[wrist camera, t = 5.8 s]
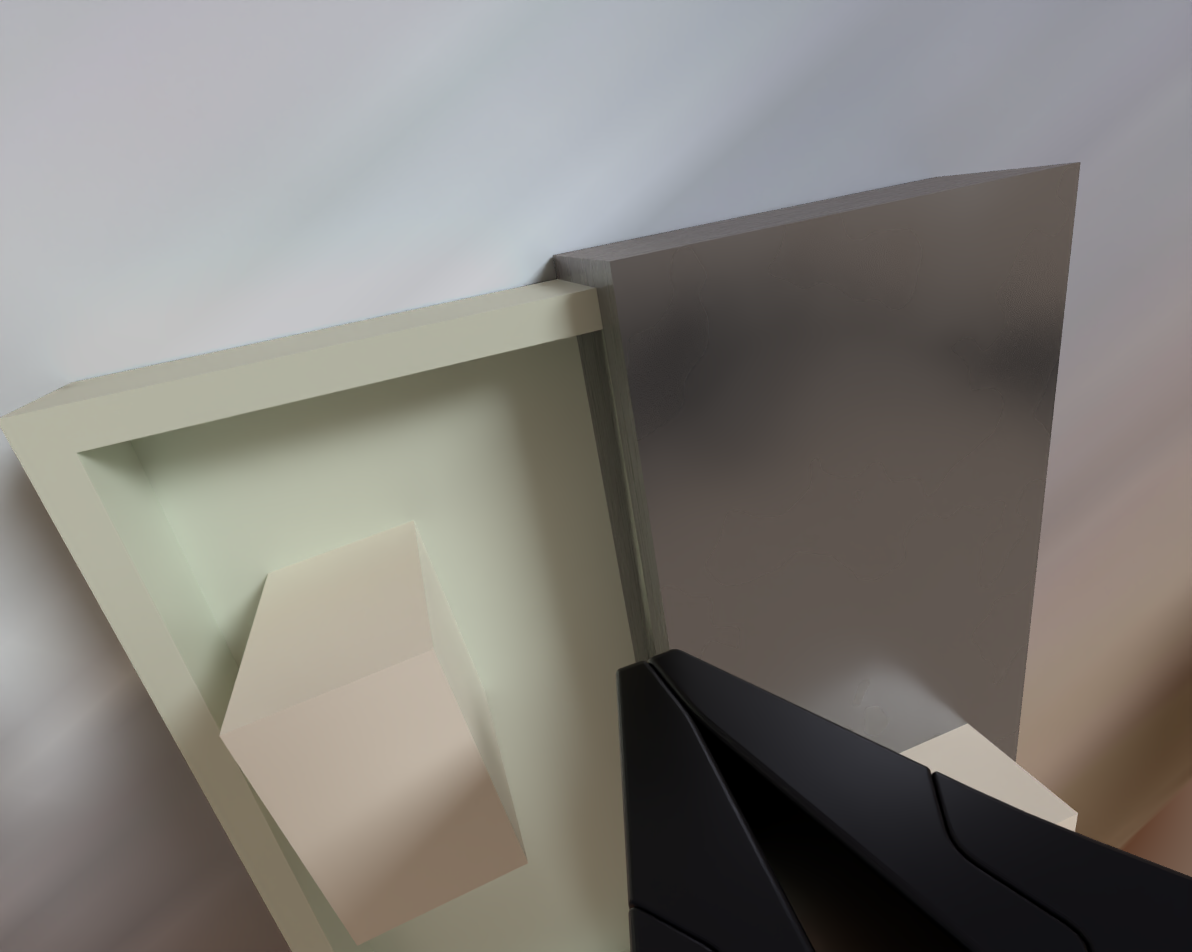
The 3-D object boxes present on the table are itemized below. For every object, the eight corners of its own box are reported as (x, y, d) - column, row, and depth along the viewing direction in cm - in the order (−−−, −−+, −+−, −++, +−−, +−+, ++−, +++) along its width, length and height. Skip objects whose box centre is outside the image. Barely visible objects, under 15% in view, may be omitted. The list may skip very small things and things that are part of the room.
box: (589, 271, 12) (634, 279, 10) (696, 907, 18) (735, 988, 16) (71, 382, 10) (-4, 419, 8) (399, 1043, 16) (403, 1153, 14)
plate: (934, 177, 13) (1080, 162, 10) (915, 814, 20) (999, 904, 17) (552, 255, 11) (609, 261, 9) (677, 925, 18) (730, 1043, 16)
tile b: (968, 723, 14) (1077, 812, 12) (959, 848, 16) (1055, 949, 14) (809, 792, 13) (896, 902, 11) (816, 918, 15) (894, 1037, 13)
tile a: (433, 649, 8) (218, 735, 7) (528, 863, 10) (357, 946, 9) (413, 520, 11) (268, 573, 11) (484, 692, 13) (360, 744, 13)
